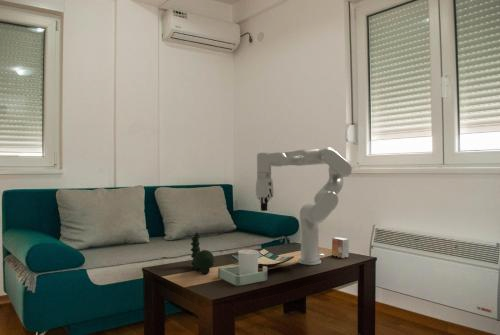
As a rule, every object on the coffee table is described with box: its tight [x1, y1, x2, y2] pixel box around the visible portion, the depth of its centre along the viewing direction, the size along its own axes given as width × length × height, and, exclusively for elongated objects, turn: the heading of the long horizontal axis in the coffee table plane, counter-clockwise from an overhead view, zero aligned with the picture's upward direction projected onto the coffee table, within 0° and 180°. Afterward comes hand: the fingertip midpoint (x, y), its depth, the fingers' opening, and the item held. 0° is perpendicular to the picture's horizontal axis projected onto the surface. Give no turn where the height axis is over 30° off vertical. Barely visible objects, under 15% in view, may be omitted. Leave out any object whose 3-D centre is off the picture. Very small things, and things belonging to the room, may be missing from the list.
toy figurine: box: [190, 232, 215, 275], centre depth 194 cm, size 9×19×25 cm
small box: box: [331, 236, 350, 259], centre depth 226 cm, size 8×6×10 cm
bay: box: [217, 264, 268, 287], centre depth 180 cm, size 16×17×6 cm
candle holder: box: [237, 248, 260, 276], centre depth 183 cm, size 10×10×12 cm
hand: (264, 210), depth 205 cm, fingers closed
